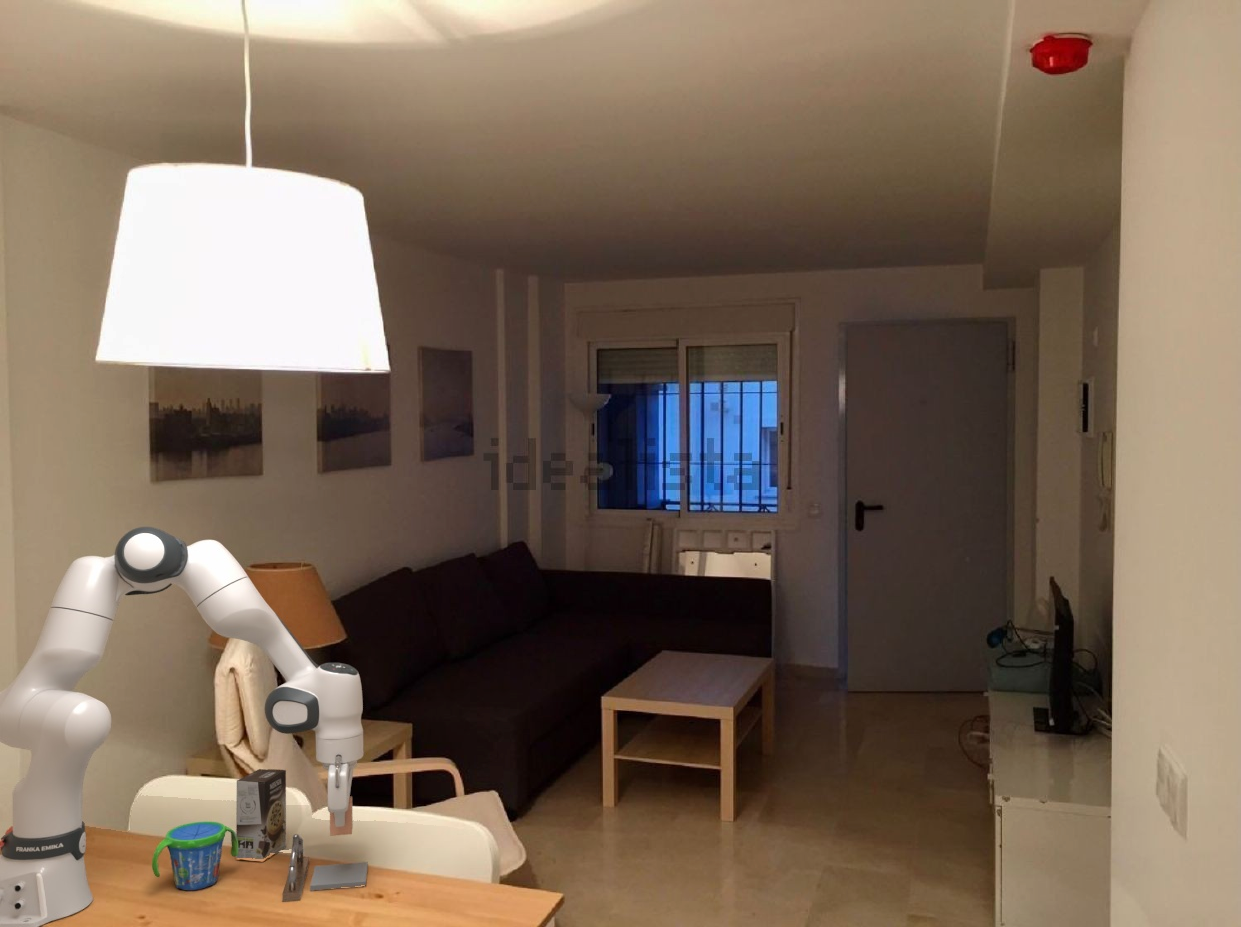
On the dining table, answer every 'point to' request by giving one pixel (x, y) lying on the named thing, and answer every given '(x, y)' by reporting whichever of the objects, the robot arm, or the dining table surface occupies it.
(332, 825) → the block
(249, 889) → the dining table surface
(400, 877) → the dining table surface
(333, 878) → the mat
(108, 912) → the dining table surface
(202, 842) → the snack cup
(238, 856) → the coffee box
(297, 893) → the metal door handle
